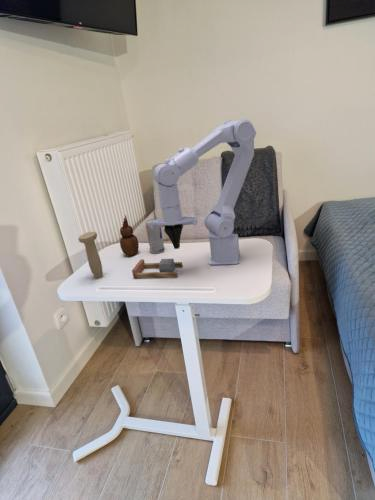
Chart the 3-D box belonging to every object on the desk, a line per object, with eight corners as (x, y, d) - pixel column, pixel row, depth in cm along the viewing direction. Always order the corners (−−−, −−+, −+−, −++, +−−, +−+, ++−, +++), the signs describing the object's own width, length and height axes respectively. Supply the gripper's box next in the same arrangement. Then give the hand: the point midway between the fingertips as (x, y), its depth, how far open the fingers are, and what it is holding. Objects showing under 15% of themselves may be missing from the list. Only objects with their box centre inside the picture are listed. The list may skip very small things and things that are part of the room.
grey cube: (175, 269, 108) (173, 258, 106) (172, 275, 104) (170, 263, 103) (163, 269, 109) (161, 258, 107) (160, 275, 105) (158, 264, 104)
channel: (182, 266, 109) (181, 257, 108) (176, 277, 102) (175, 269, 101) (142, 267, 112) (140, 259, 111) (133, 278, 105) (131, 270, 104)
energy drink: (165, 247, 127) (160, 218, 122) (163, 253, 122) (157, 222, 117) (152, 248, 127) (146, 219, 123) (149, 254, 123) (143, 224, 118)
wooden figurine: (132, 249, 129) (124, 213, 124) (142, 251, 126) (135, 214, 120) (119, 256, 124) (111, 219, 119) (130, 258, 121) (122, 220, 115)
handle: (87, 280, 108) (75, 239, 103) (97, 272, 114) (86, 231, 108) (99, 281, 107) (88, 238, 101) (109, 272, 112) (99, 231, 107)
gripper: (196, 199, 99) (201, 241, 104) (150, 203, 102) (158, 244, 107) (193, 206, 93) (198, 250, 98) (144, 210, 95) (152, 252, 101)
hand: (177, 247), depth 102 cm, fingers closed
